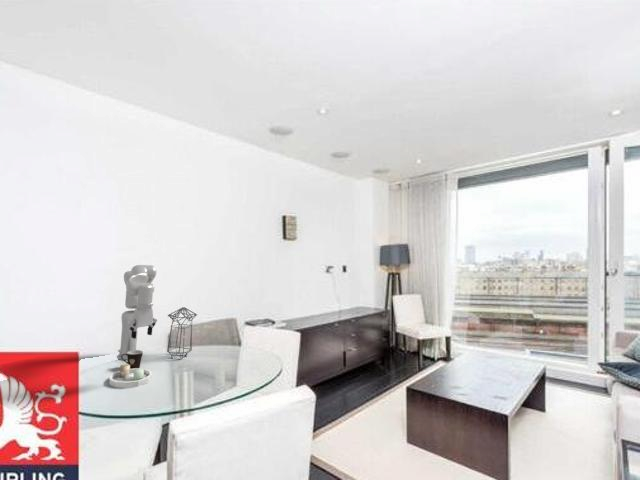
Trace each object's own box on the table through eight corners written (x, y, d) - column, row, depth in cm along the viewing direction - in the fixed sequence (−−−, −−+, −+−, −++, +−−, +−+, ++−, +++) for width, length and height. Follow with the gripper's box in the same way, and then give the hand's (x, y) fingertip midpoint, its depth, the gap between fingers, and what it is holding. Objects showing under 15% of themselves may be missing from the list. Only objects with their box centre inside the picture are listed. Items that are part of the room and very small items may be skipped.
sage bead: (131, 381, 191) (131, 370, 192) (139, 378, 196) (140, 368, 196) (136, 383, 189) (137, 372, 189) (144, 380, 194) (145, 370, 194)
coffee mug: (144, 367, 216) (146, 351, 216) (133, 371, 208) (134, 355, 208) (130, 364, 220) (132, 348, 220) (119, 368, 212) (120, 352, 212)
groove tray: (101, 381, 191) (101, 376, 191) (136, 370, 209) (136, 365, 210) (124, 391, 181) (124, 385, 181) (158, 379, 200) (159, 373, 200)
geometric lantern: (162, 358, 233) (166, 307, 235) (176, 352, 249) (180, 304, 251) (182, 361, 230) (186, 309, 232) (195, 355, 245) (199, 306, 247)
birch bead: (117, 376, 197) (118, 365, 197) (125, 373, 202) (126, 363, 202) (122, 378, 195) (123, 367, 195) (131, 375, 199) (132, 365, 199)
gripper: (153, 303, 203) (151, 332, 202) (125, 307, 188) (122, 338, 187) (161, 305, 199) (159, 334, 199) (134, 309, 184) (131, 340, 184)
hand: (141, 336), depth 193 cm, fingers open, 9 cm apart
